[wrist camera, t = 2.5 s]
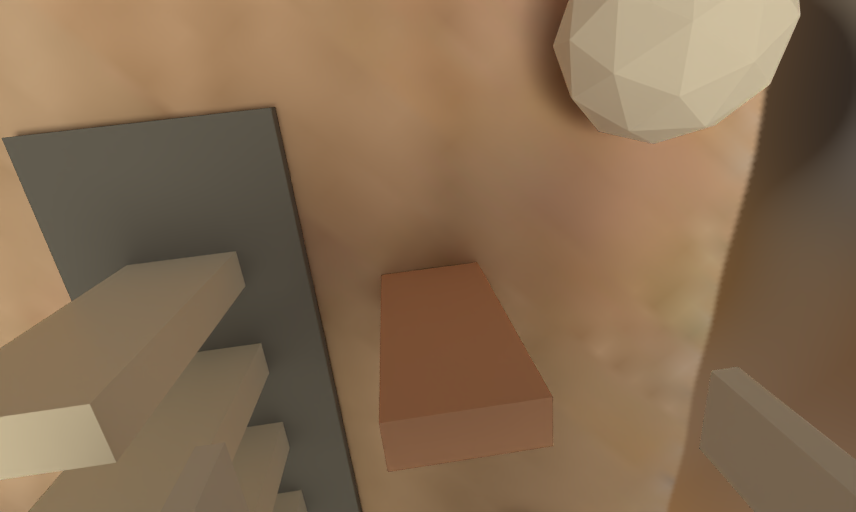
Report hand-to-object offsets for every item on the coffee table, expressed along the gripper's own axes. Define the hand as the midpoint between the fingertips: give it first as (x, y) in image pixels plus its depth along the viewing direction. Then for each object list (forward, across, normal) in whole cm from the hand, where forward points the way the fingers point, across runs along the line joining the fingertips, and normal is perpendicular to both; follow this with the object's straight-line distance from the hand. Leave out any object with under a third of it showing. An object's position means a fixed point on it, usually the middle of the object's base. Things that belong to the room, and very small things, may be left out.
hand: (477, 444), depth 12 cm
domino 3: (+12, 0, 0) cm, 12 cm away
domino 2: (+11, +12, +3) cm, 16 cm away
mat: (+12, +12, +4) cm, 17 cm away
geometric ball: (+12, -9, -10) cm, 18 cm away
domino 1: (+11, +12, -2) cm, 16 cm away
